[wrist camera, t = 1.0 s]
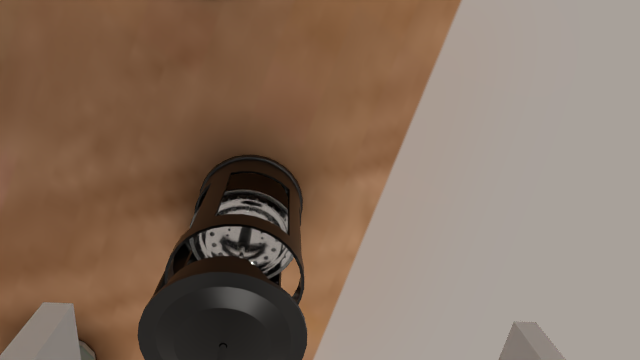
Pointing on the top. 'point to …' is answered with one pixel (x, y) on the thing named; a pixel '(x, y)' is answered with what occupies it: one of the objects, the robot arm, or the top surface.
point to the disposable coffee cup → (86, 352)
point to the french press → (231, 275)
